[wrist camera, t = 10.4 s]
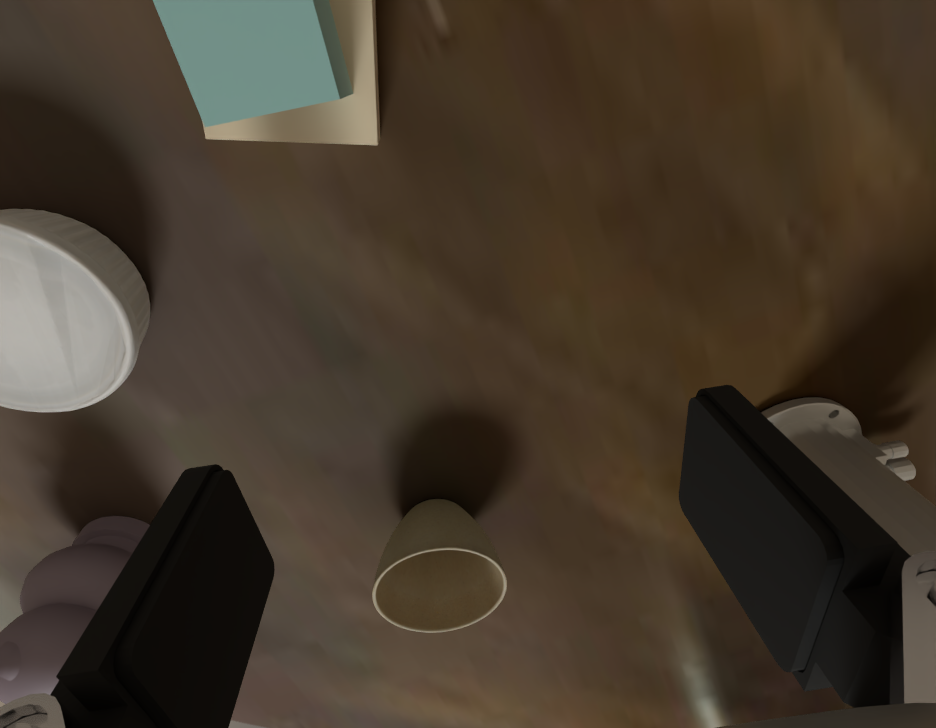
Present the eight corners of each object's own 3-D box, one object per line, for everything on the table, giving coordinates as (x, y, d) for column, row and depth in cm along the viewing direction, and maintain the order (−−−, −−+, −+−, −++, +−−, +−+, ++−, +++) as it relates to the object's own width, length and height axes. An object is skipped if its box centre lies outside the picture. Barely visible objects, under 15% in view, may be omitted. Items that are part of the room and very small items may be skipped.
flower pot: (359, 495, 41) (352, 570, 35) (477, 463, 40) (491, 533, 34) (397, 569, 46) (396, 646, 40) (502, 541, 46) (518, 615, 39)
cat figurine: (39, 534, 39) (-92, 700, 29) (114, 490, 38) (6, 647, 27) (129, 589, 43) (43, 751, 33) (199, 551, 42) (133, 708, 31)
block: (318, -41, 21) (290, -79, 16) (353, 93, 23) (340, 98, 18) (200, -17, 21) (133, -47, 16) (248, 115, 23) (205, 127, 18)
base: (373, -46, 24) (369, -66, 21) (380, 136, 28) (377, 145, 24) (197, -60, 23) (161, -84, 20) (231, 130, 27) (205, 138, 24)
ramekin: (208, 325, 32) (177, 366, 28) (66, 393, 33) (13, 443, 29) (69, 155, 26) (0, 171, 22) (-95, 245, 28) (-193, 278, 23)
